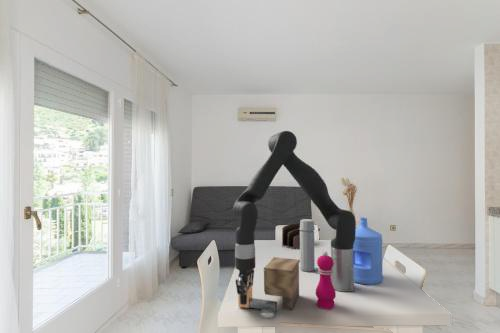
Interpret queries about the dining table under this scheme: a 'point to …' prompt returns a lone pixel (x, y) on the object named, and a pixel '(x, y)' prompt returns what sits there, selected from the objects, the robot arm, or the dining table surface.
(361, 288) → the dining table surface
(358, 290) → the dining table surface
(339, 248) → the robot arm
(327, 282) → the pepper mill
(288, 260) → the brown wooden block
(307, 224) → the water bottle
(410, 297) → the dining table surface
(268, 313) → the token
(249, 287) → the tan grey l-shaped piece
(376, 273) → the water jug
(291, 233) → the letter holder
